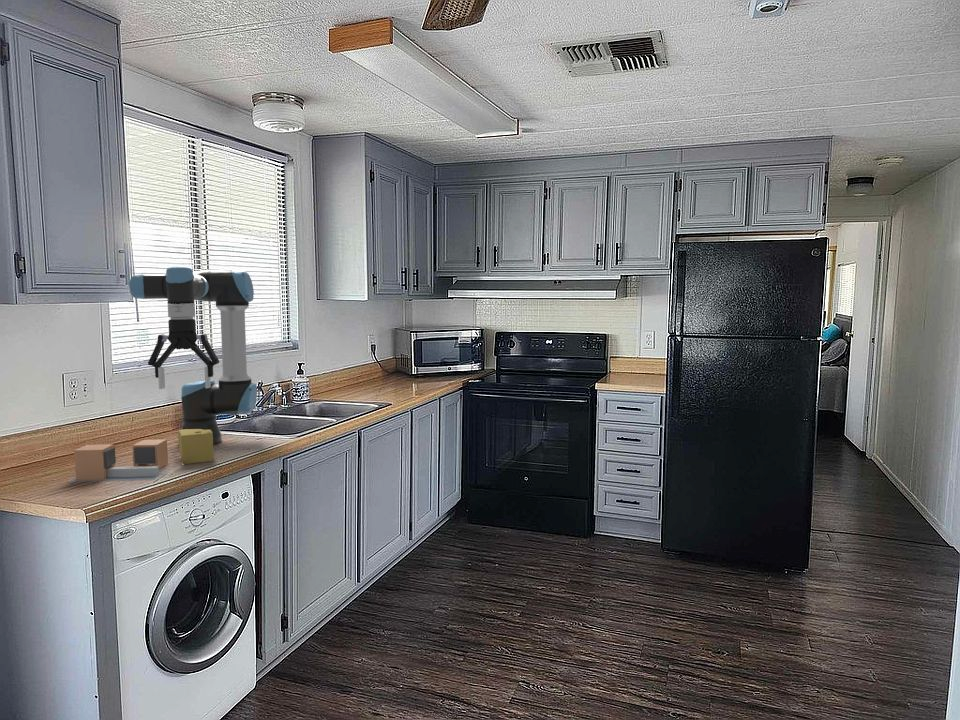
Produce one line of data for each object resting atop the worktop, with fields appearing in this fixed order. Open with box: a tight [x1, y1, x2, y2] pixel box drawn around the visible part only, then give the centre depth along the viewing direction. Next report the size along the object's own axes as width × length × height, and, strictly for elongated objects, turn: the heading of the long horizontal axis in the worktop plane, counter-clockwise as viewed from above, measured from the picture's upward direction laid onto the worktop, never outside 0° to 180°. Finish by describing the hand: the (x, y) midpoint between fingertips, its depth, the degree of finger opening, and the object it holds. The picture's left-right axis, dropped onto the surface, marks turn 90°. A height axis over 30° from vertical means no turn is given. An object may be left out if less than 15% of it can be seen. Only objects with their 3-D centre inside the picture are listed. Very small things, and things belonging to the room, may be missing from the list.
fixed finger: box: [73, 443, 117, 480], centre depth 205 cm, size 7×9×9 cm
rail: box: [66, 465, 167, 484], centre depth 206 cm, size 10×25×4 cm, turn 94°
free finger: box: [132, 438, 169, 470], centre depth 216 cm, size 7×9×9 cm
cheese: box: [177, 429, 215, 465], centre depth 229 cm, size 10×11×10 cm
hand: (185, 388), depth 207 cm, fingers open, 13 cm apart
